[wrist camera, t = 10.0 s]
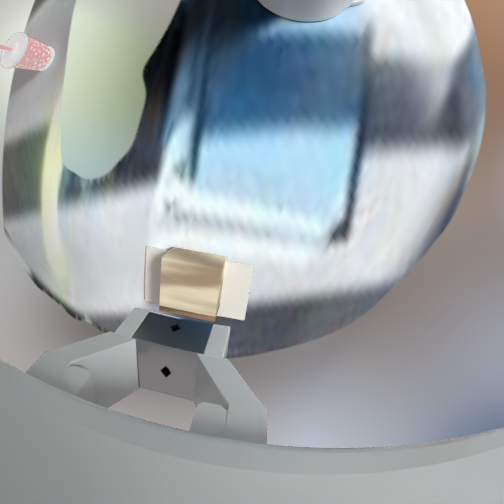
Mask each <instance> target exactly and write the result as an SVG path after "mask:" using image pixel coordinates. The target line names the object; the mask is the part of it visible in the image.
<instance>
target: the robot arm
mask: <svg viewBox="0 0 504 504" xmlns="http://www.w3.org/2000/svg"><path fill="white" fill-rule="evenodd" d="M258 1H259V2H260V3H261V4H262V5H263V6H264V7H265V8H267V9H268V10H270V11H271V12H273V13H275V14H277V15H279V16H282V17H285V18H288V19H292V20H296V21H306V22H313V21H322V20H326V19H329V18H332V17H334V16H336V15H338V14H340V13H341V12H342V11H344V10H345V9H346V8H348V7H350V6H355V5H360V4H363V3H364V2H365V1H366V0H258ZM229 335H230V327H229V326H222V325H215V324H214V325H213V324H209V323H203V322H197V321H192V320H186V319H182V318H179V317H174V316H170V315H166V314H162V313H158V312H154V311H150V310H146V309H141V308H134V309H133V310H132V312H131V313H130V314H129V315H128V317H127V318H126V319H125V320H124V321H123V323H122V324H121V325H120V326H119V328H118V329H117V330H116V331H115V332H114V333H113V332H107V333H104V334H101V335H98V336H95V337H92V338H89V339H85V340H82V341H79V342H76V343H72V344H69V345H66V346H63V347H59V348H56V349H53V350H50V351H46V352H45V353H44V354H43V355H42V356H41V357H40V358H39V359H38V360H37V361H36V362H35V363H34V364H33V365H32V366H31V367H30V368H29V369H28V371H26V373H25V372H23V371H21V370H19V369H17V368H15V367H13V366H11V365H10V364H8V363H6V362H4V361H2V360H1V359H0V504H504V427H502V428H499V429H495V430H491V431H487V432H483V433H479V434H474V435H469V436H464V437H459V438H454V439H448V440H442V441H435V442H429V443H420V444H412V445H402V446H389V447H372V448H309V447H292V446H278V445H269V444H267V417H268V411H267V410H266V409H265V408H264V406H263V405H262V404H261V403H260V401H259V400H258V399H257V397H256V396H255V395H254V394H253V392H252V391H251V390H250V388H249V387H248V385H247V384H246V383H245V382H244V380H243V379H242V378H241V376H240V375H239V373H238V372H237V371H236V369H235V368H234V367H233V365H232V364H231V362H230V361H229V360H228V359H226V354H227V348H228V341H229ZM139 387H140V388H144V389H148V390H152V391H156V392H161V393H165V394H169V395H172V396H176V397H180V398H184V399H188V400H192V401H194V404H195V406H196V411H195V414H194V417H193V420H192V424H191V427H190V430H189V431H185V430H181V429H177V428H172V427H169V426H165V425H161V424H157V423H153V422H150V421H146V420H143V419H139V418H136V417H132V416H130V415H126V414H123V413H120V412H117V411H114V410H111V409H108V408H109V407H110V406H112V405H113V404H115V403H117V402H118V401H120V400H122V399H123V398H125V397H126V396H128V395H130V394H131V393H133V392H135V391H136V390H138V389H139Z"/></svg>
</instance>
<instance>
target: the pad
mask: <svg viewBox="0 0 504 504" xmlns="http://www.w3.org/2000/svg"><path fill="white" fill-rule="evenodd" d="M168 251H169V250H165V249H160V248H154V247H149V246H147V247H146V267H145V301H150V302H154V303H159V304H160V280H161V261H162V257H163V256H164V255H165V254H166V253H167V252H168ZM253 268H254V265H249V264H244V263H238V262H232V261H227V260H226V263H225V270H224V278H223V285H222V292H221V300H220V307H219V310H218V313H217V316H222V317H228V318H233V319H239V320H244V319H245V313H246V307H247V302H248V296H249V290H250V285H251V279H252V273H253Z"/></svg>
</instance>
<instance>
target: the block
mask: <svg viewBox="0 0 504 504" xmlns="http://www.w3.org/2000/svg"><path fill="white" fill-rule="evenodd" d="M225 263H226V257H225V256H219V255H213V254H208V253H202V252H196V251H191V250H185V249H180V248H174V247H172V248H171V249H170V250H169V251H168V252H167V253H166V254H165V255H164V256H163V257H162V261H161V280H160V307H159V310H161V311H165V312H170V313H175V314H179V315H184V316H189V317H194V318H199V319H204V320H209V321H214V322H215V319H216V316H217V313H218V310H219V307H220V300H221V292H222V285H223V278H224V270H225Z"/></svg>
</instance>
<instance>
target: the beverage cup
mask: <svg viewBox="0 0 504 504" xmlns="http://www.w3.org/2000/svg"><path fill="white" fill-rule="evenodd" d="M0 48H1V49H3V50H2V53H1V57H0V62H1V65H2V67H4V68H12V67H14V68H22V69H30V70H37V71H43V70H46V69H47V68H48V67H49V66H50V65H51V63H52V61H53V59H54V55H55V53H54V49H53V48H52V47H50V46H48V45H45V44H43V43H41V42H39V41H37V40H35V39H32V38H30V37H28V36H27V35H26V34H24V33H22V32H17V33H15V34H14V35H13V36H11V37H10V38H9V39H8V41H7V42H6V44H5V46H1V45H0Z"/></svg>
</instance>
